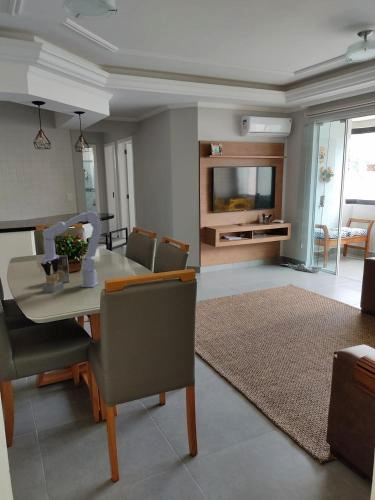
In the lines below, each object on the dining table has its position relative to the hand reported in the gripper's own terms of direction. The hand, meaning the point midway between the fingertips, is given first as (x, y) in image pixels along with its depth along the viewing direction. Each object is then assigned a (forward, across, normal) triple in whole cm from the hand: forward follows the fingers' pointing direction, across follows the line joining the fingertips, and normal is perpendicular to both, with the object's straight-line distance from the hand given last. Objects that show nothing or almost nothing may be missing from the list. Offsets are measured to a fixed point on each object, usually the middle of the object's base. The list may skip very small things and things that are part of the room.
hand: (51, 273), depth 203 cm
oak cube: (+6, 0, 0) cm, 6 cm away
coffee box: (+10, -17, -4) cm, 20 cm away
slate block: (+10, 0, 0) cm, 10 cm away
